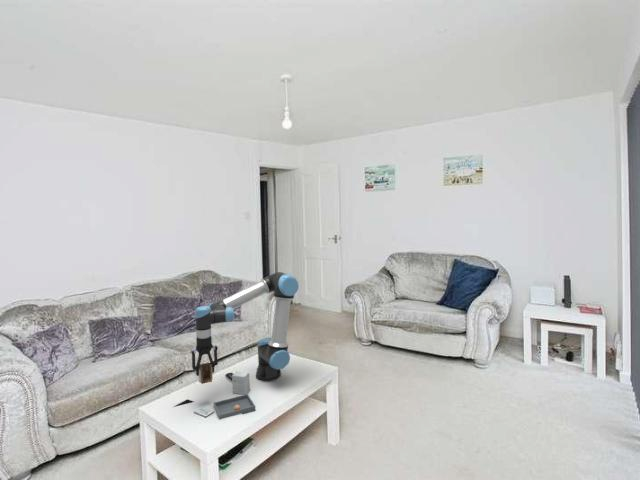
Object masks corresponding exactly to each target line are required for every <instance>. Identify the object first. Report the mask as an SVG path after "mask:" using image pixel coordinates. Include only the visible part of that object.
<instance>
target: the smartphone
mask: <svg viewBox="0 0 640 480" xmlns="http://www.w3.org/2000/svg"><path fill="white" fill-rule="evenodd" d="M193 403H195V401H193V400H190V399H185V400H183V401H181V402H179V403H178V404H176V405H174V406H173V408H176V407H178V406H179V407H180V406H184V405H188V404H193Z"/></svg>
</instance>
